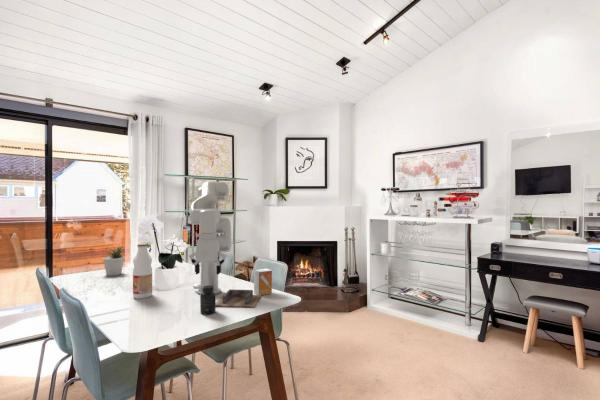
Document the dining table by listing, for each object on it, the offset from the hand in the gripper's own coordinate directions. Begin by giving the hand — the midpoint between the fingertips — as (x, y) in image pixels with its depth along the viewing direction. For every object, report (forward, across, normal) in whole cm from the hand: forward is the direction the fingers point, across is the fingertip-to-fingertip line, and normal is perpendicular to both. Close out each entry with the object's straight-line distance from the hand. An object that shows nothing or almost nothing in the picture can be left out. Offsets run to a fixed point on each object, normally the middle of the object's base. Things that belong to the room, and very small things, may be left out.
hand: (208, 273), depth 158 cm
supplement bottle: (+18, 0, 0) cm, 18 cm away
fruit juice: (+18, -43, +22) cm, 52 cm away
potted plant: (+17, -88, +69) cm, 113 cm away
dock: (+18, +10, +17) cm, 27 cm away
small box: (+18, +20, +32) cm, 42 cm away
